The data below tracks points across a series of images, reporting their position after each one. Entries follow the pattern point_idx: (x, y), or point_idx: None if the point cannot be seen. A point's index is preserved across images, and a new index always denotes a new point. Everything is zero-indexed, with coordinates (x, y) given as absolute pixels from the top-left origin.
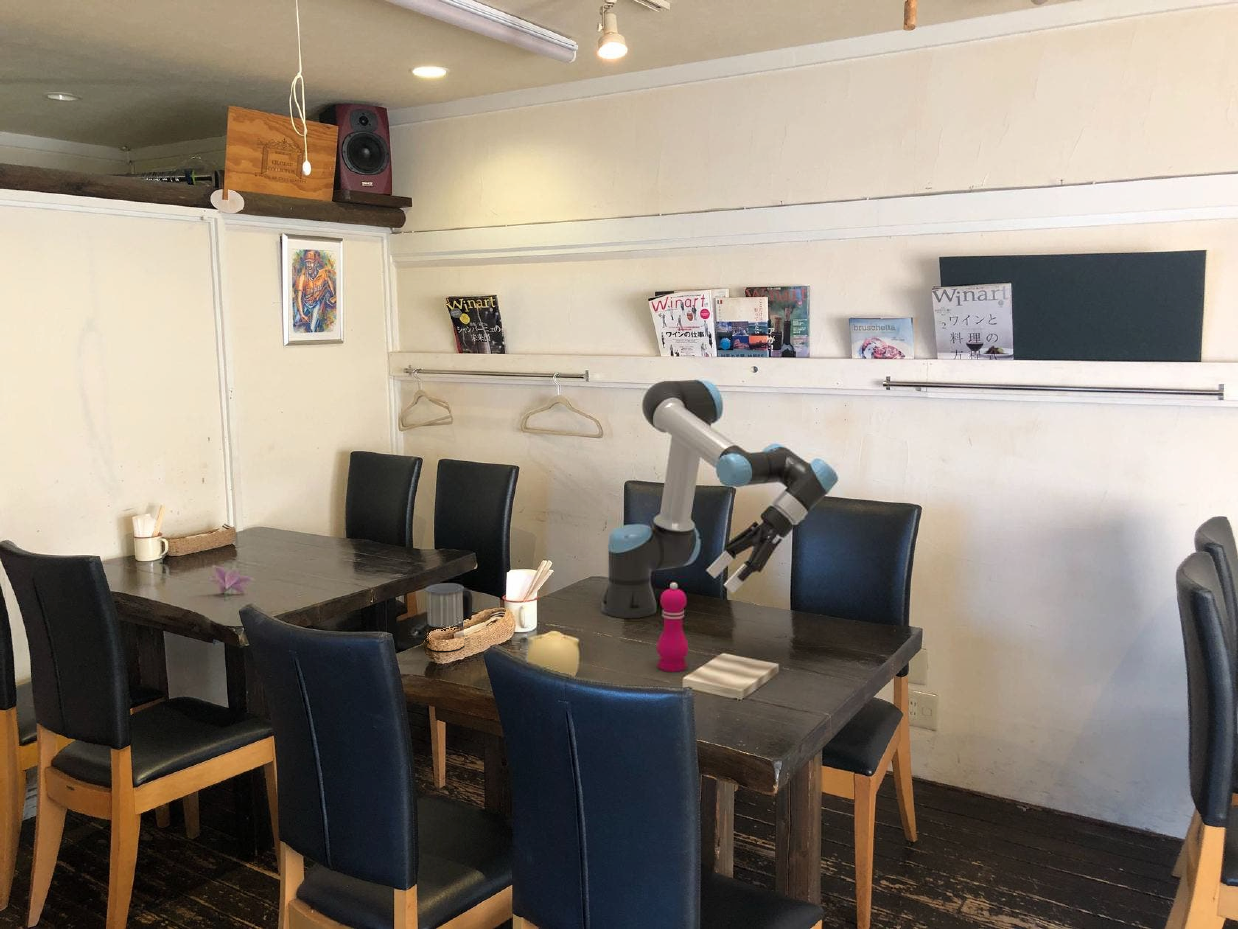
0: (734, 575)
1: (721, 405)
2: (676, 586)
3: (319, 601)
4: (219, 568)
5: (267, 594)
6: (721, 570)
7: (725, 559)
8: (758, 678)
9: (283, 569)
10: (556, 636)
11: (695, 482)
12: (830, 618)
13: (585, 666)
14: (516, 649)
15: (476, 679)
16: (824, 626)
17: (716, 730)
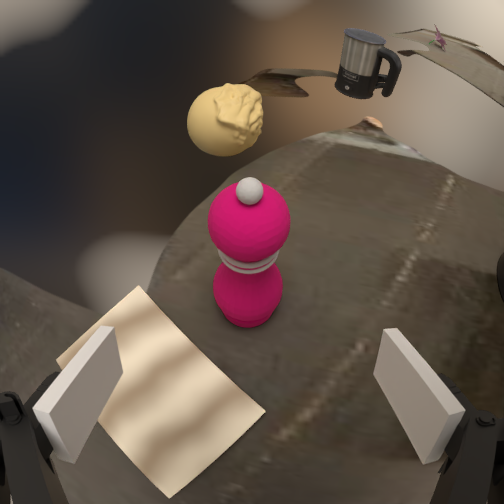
0: (72, 359)
1: None
2: (237, 194)
3: (447, 67)
4: (436, 28)
5: (449, 57)
6: (391, 400)
7: (420, 415)
8: (98, 419)
9: (498, 77)
10: (218, 94)
11: None
12: None
13: (275, 179)
14: (349, 129)
15: None
16: None
17: (7, 285)
